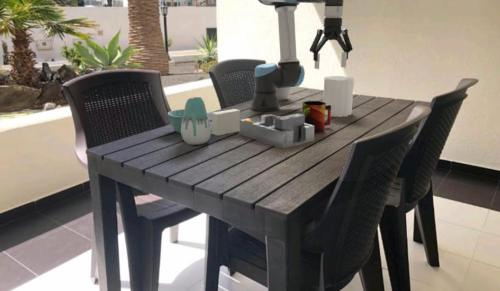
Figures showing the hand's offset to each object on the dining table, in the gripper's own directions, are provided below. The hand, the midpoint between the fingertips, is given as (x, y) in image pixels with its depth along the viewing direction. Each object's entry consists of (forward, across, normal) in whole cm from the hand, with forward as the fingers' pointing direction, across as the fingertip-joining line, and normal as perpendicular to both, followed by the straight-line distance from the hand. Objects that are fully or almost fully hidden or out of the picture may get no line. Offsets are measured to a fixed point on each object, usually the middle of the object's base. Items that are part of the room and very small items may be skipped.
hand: (330, 68), depth 179 cm
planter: (+26, +4, +62) cm, 67 cm away
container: (+26, +16, +17) cm, 35 cm away
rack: (+25, -31, -11) cm, 41 cm away
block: (+25, -47, +4) cm, 54 cm away
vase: (+25, -63, -6) cm, 68 cm away
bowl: (+26, -62, +12) cm, 68 cm away
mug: (+26, -10, -6) cm, 28 cm away
